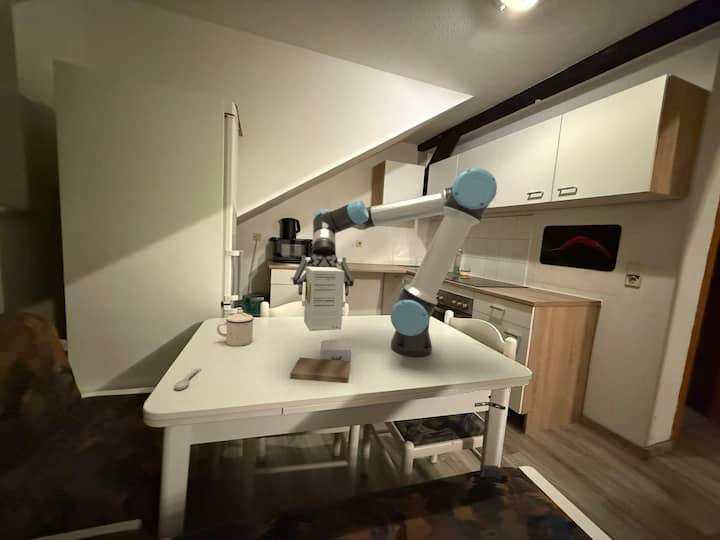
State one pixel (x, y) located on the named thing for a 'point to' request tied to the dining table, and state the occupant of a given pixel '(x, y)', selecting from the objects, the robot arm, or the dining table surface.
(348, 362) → the walnut board
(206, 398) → the dining table surface
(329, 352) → the charger
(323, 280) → the supplement box
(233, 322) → the teacup with lid
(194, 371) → the spoon
